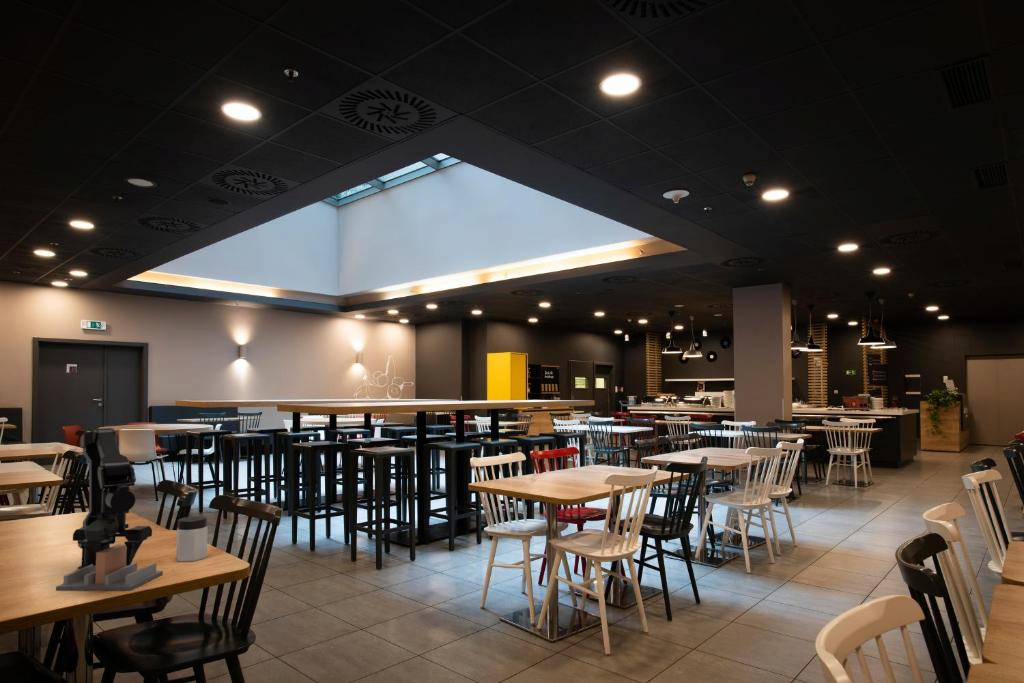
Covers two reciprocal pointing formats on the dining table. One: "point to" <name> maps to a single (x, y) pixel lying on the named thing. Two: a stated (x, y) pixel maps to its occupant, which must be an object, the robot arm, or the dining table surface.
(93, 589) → the rack
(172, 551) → the dining table surface
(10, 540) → the dining table surface
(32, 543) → the dining table surface
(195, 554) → the jar
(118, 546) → the brown flat rectangular slab
